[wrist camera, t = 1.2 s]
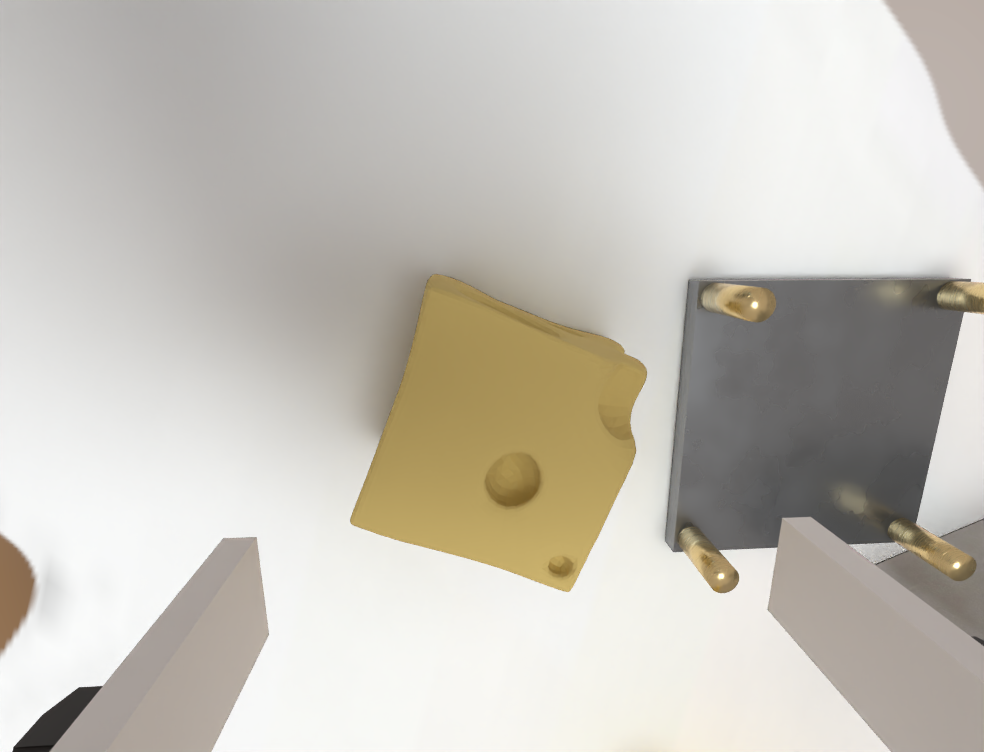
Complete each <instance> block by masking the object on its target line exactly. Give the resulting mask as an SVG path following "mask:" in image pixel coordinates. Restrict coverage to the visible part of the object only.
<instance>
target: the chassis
mask: <svg viewBox="0 0 984 752" xmlns="http://www.w3.org/2000/svg"><path fill="white" fill-rule="evenodd" d="M964 312H969V313H978V314H984V283H980V282H971V279H959V278H882V279H728V280H689V286H688V297H687V308H686V319H685V330H684V341H683V352H682V363H681V373H680V384H679V395H678V406H677V417H676V428H675V439H674V450H673V461H672V472H671V483H670V494H669V505H668V516H667V526H666V537H665V541H666V543H667V544H668V546H669V547H670V548H671V550H672V551H673V552H685V554H686V555H687V556H688V558H689V559H690V560H691V562H692V563H693V564H694V565H695V567H696V568H697V569H698V571H699V572H700V573H701V575H702V576H703V577H704V579H705V580H706V581H707V583H708V584H709V585H710V586H711V588H712V589H713V590H714V591H716V592H718V593H726V592H729V591H731V590H733V589H734V588H735V587H736V586H737V584H738V582H739V574H738V572H737V571H736V570H735V569H734V567H733V566H732V565H731V564H730V563H729V562H728V561H727V560H726V558H725V557H724V556H723V555H722V554H721V553H720V552H719V550H730V549H753V548H776V547H778V542H779V536H780V529H781V523H782V518H795V517H812V518H813V519H814V520H816V521H817V522H818V523H820V524H821V525H822V526H824V527H825V528H826V529H828V530H829V531H830V532H832V533H833V534H834V535H836V536H837V537H838V538H840V539H841V540H842V541H844V542H845V543H846V544H867V543H890V542H896V543H898V544H899V545H901V546H902V547H904V548H905V549H907V550H908V551H910V552H911V553H913V554H914V555H916V556H918V557H919V558H921V559H922V560H924V561H925V562H927V563H928V564H930V565H931V566H933V567H934V568H936V569H937V570H939V571H940V572H942V573H943V574H945V575H946V576H948V577H949V578H951V579H952V580H954V581H963V580H966V579H968V578H969V577H971V576H972V575H973V573H974V572H975V570H976V566H977V564H976V560H975V559H974V558H973V557H971V556H969V555H968V554H966V553H964V552H963V551H961V550H959V549H958V548H956V547H954V546H952V545H951V544H949V543H947V542H946V541H944V540H942V539H941V538H939V537H937V536H935V535H934V534H932V533H930V532H929V531H927V530H925V529H924V528H922V527H920V526H918V525H917V524H916V521H917V517H918V512H919V508H920V503H921V499H922V495H923V490H924V486H925V481H926V477H927V472H928V468H929V464H930V459H931V455H932V450H933V446H934V441H935V437H936V433H937V428H938V424H939V419H940V415H941V411H942V406H943V402H944V397H945V393H946V388H947V384H948V380H949V375H950V371H951V366H952V362H953V358H954V353H955V349H956V344H957V340H958V335H959V331H960V327H961V322H962V318H963V313H964Z"/></svg>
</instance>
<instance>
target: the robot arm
mask: <svg viewBox="0 0 984 752" xmlns="http://www.w3.org/2000/svg"><path fill="white" fill-rule="evenodd" d="M768 611H769V612H770V613H771V614H772V615H773V616H774V618H775V619H776V620H777V621H778V622H779V623H780V624H781V626H782V627H783V628H784V629H785V630H786V631H787V632H788V634H789V635H790V636H791V637H792V638H793V639H794V641H795V642H796V643H797V644H798V645H799V646H800V647H801V649H802V650H803V651H804V652H805V653H806V654H807V655H808V657H809V658H810V659H811V660H812V661H813V662H814V664H815V665H816V666H817V667H818V668H819V669H820V670H821V672H822V673H823V674H824V675H825V676H826V677H827V678H828V680H829V681H830V682H831V683H832V684H833V685H834V687H835V688H836V689H837V690H838V691H839V692H840V693H841V695H842V696H843V697H844V698H845V699H846V700H847V701H848V703H849V704H850V705H851V706H852V707H853V708H854V710H855V711H856V712H857V713H858V714H859V715H860V716H861V718H862V719H863V720H864V721H865V722H866V723H867V724H868V726H869V727H870V728H871V729H872V730H873V731H874V732H875V734H876V735H877V736H878V737H879V738H880V739H881V741H882V742H883V743H884V744H885V745H886V746H887V747H888V749H889V750H890V751H891V752H984V640H982V639H980V638H978V637H976V636H972V637H971V636H969V635H968V634H967V633H965V632H964V631H963V630H961V629H960V628H959V627H957V626H956V625H955V624H953V623H952V622H951V621H949V620H948V619H947V618H945V617H944V616H943V615H941V614H940V613H939V612H937V611H936V610H935V609H933V608H932V607H931V606H929V605H928V604H927V603H925V602H924V601H923V600H921V599H920V598H919V597H917V596H916V595H915V594H913V593H912V592H911V591H909V590H908V589H907V588H905V587H904V586H902V585H901V584H900V583H898V582H897V581H896V580H894V579H893V578H892V577H890V576H889V575H888V574H886V573H885V572H884V571H882V570H881V569H880V568H878V567H877V566H876V565H874V564H873V563H872V562H870V561H869V560H868V559H866V558H865V557H864V556H862V555H861V554H860V553H858V552H857V551H856V550H854V549H853V548H852V547H850V546H849V545H848V544H846V543H845V542H844V541H842V540H841V539H840V538H838V537H837V536H836V535H834V534H833V533H832V532H830V531H829V530H828V529H826V528H825V527H824V526H822V525H821V524H820V523H818V522H817V521H816V520H814V519H813V518H812V517H795V518H782V523H781V529H780V536H779V542H778V548H777V554H776V561H775V567H774V573H773V579H772V586H771V592H770V598H769V604H768ZM268 635H269V631H268V623H267V615H266V607H265V600H264V592H263V584H262V576H261V568H260V561H259V553H258V545H257V537H246V538H223V539H222V541H221V542H220V543H219V544H218V546H217V547H216V548H215V549H214V550H213V552H212V553H211V554H210V555H209V557H208V558H207V559H206V560H205V561H204V563H203V564H202V565H201V566H200V568H199V569H198V570H197V571H196V573H195V574H194V575H193V576H192V577H191V579H190V580H189V581H188V582H187V584H186V585H185V586H184V587H183V588H182V590H181V591H180V592H179V593H178V595H177V596H176V597H175V598H174V600H173V601H172V602H171V603H170V604H169V606H168V607H167V608H166V609H165V611H164V612H163V613H162V614H161V615H160V617H159V618H158V619H157V620H156V622H155V623H154V624H153V625H152V627H151V628H150V629H149V630H148V631H147V633H146V634H145V635H144V636H143V638H142V639H141V640H140V641H139V642H138V644H137V645H136V646H135V647H134V649H133V650H132V651H131V652H130V654H129V655H128V656H127V657H126V658H125V660H124V661H123V662H122V663H121V665H120V666H119V667H118V668H117V669H116V671H115V672H114V673H113V674H112V676H111V677H110V678H109V679H108V681H107V682H106V683H105V684H104V685H103V686H97V687H79V688H78V689H76V690H75V691H74V692H72V693H71V694H70V695H68V696H67V697H66V698H64V699H63V700H62V701H60V702H59V703H58V704H56V705H55V706H54V707H52V708H51V709H50V710H48V711H47V712H46V713H44V714H43V715H42V716H41V717H40V718H39V719H38V721H37V722H36V723H35V724H34V725H33V726H32V727H31V728H30V730H29V731H28V732H27V733H26V734H25V735H24V736H23V737H22V738H21V740H20V741H19V742H18V743H17V744H16V745H15V746H14V747H13V752H211V751H212V749H213V747H214V745H215V743H216V741H217V739H218V737H219V735H220V733H221V731H222V729H223V727H224V725H225V723H226V721H227V719H228V717H229V715H230V713H231V711H232V709H233V707H234V705H235V703H236V701H237V698H238V696H239V694H240V692H241V690H242V688H243V686H244V684H245V682H246V680H247V678H248V676H249V674H250V672H251V670H252V668H253V666H254V664H255V662H256V660H257V658H258V656H259V654H260V652H261V650H262V648H263V645H264V643H265V641H266V639H267V637H268Z"/></svg>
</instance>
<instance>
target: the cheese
mask: <svg viewBox="0 0 984 752" xmlns="http://www.w3.org/2000/svg"><path fill="white" fill-rule="evenodd" d="M624 352H625V351H624V349H623V348H622V346H621V345H620V344H618V343H617V342H615V341H613V340H611V339H609V338H606V337H602V336H599V335H595V334H591V333H587V332H583V331H579V330H575V329H571V328H568V327H565V326H561V325H558V324H556V323H553V322H550V321H548V320H545V319H543V318H540V317H538V316H535V315H533V314H530V313H528V312H525V311H523V310H520V309H518V308H515V307H513V306H510V305H508V304H505V303H503V302H500V301H498V300H496V299H494V298H492V297H490V296H488V295H486V294H484V293H482V292H481V291H479V290H477V289H475V288H473V287H471V286H469V285H467V284H465V283H463V282H461V281H458V280H456V279H453V278H450V277H447V276H443V275H438V274H434V275H432V276H431V277H430V278H429V279H428V282H427V284H426V287H425V291H424V295H423V300H422V304H421V308H420V313H419V318H418V322H417V327H416V331H415V335H414V339H413V343H412V347H411V351H410V354H409V358H408V362H407V365H406V369H405V372H404V375H403V378H402V381H401V384H400V387H399V390H398V393H397V396H396V398H395V401H394V404H393V407H392V409H391V412H390V415H389V417H388V420H387V423H386V426H385V428H384V431H383V434H382V436H381V439H380V442H379V444H378V447H377V450H376V453H375V455H374V458H373V461H372V463H371V466H370V469H369V471H368V474H367V477H366V479H365V482H364V484H363V487H362V490H361V492H360V495H359V497H358V500H357V503H356V505H355V508H354V510H353V513H352V516H351V519H350V522H351V524H352V525H354V526H357V527H359V528H362V529H365V530H368V531H371V532H374V533H376V534H379V535H382V536H386V537H389V538H392V539H395V540H399V541H402V542H406V543H410V544H414V545H418V546H422V547H426V548H430V549H434V550H438V551H442V552H445V553H449V554H453V555H457V556H460V557H464V558H468V559H471V560H474V561H478V562H481V563H485V564H488V565H491V566H494V567H497V568H501V569H504V570H507V571H509V572H512V573H515V574H518V575H520V576H523V577H526V578H529V579H531V580H534V581H536V582H539V583H542V584H544V585H547V586H550V587H553V588H556V589H558V590H562V591H565V592H569V591H570V590H571V589H572V587H573V585H574V583H575V582H576V580H577V577H578V575H579V573H580V571H581V569H582V567H583V565H584V563H585V561H586V559H587V557H588V555H589V553H590V551H591V549H592V547H593V545H594V543H595V541H596V540H597V538H598V536H599V533H600V531H601V529H602V527H603V525H604V523H605V520H606V518H607V516H608V514H609V512H610V510H611V508H612V505H613V503H614V501H615V499H616V497H617V495H618V493H619V491H620V489H621V487H622V485H623V483H624V481H625V479H626V476H627V474H628V472H629V470H630V468H631V466H632V464H633V460H634V457H635V454H636V447H635V441H634V437H633V435H632V432H631V425H630V418H631V412H632V408H633V405H634V402H635V400H636V398H637V396H638V394H639V392H640V391H641V389H642V387H643V385H644V383H645V380H646V377H647V370H646V368H645V366H644V365H643V364H642V363H641V362H640V361H639V360H637V359H635V358H633V357H631V356H628V355H626V354H624Z"/></svg>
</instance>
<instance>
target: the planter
mask: <svg viewBox="0 0 984 752" xmlns="http://www.w3.org/2000/svg"><path fill="white" fill-rule="evenodd" d="M940 538H941V539H942V540H944V541H946V542H947V543H949V544H951V545H952V546H954V547H956V548H958V549H959V550H961V551H963V552H964V553H966V554H968V555H969V556H971V557H973V558H974V559H975V560H976V564H977V566H976V570H975V572H974V573H973V575H972V576H971V577H969V578H968V579H966V580H963V581H954V580H952V579H951V578H949V577H948V576H946V575H945V574H943V573H942V572H940V571H939V570H937V569H936V568H934V567H933V566H931V565H930V564H928V563H927V562H925V561H924V560H922V559H921V558H919V557H918V556H916V555H914V554H913V553H911V552H910V551H907V552H905V553H902V554H900V555H898V556H895V557H893V558H890V559H888V560H886V561H883V562H881V563H879V564H876V566H877V567H878V568H880V569H881V570H882V571H884V572H885V573H886V574H888V575H889V576H890V577H892V578H893V579H894V580H896V581H897V582H898V583H900V584H901V585H902V586H904V587H905V588H907V589H908V590H909V591H911V592H912V593H913V594H915V595H916V596H917V597H919V598H920V599H921V600H923V601H924V602H925V603H927V604H928V605H929V606H931V607H932V608H933V609H935V610H936V611H937V612H939V613H940V614H941V615H943V616H944V617H945V618H947V619H948V620H949V621H951V622H952V623H953V624H955V625H956V626H957V627H959V628H960V629H961V630H963V631H964V632H965V633H967V634H968V635H969V636H971V637H972V636H976V637H978V638H980V639H982V640H984V519H983V520H981V521H978V522H976V523H973V524H971V525H969V526H966V527H964V528H962V529H959V530H957V531H954V532H952V533H950V534H947V535H945V536H943V537H940Z"/></svg>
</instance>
